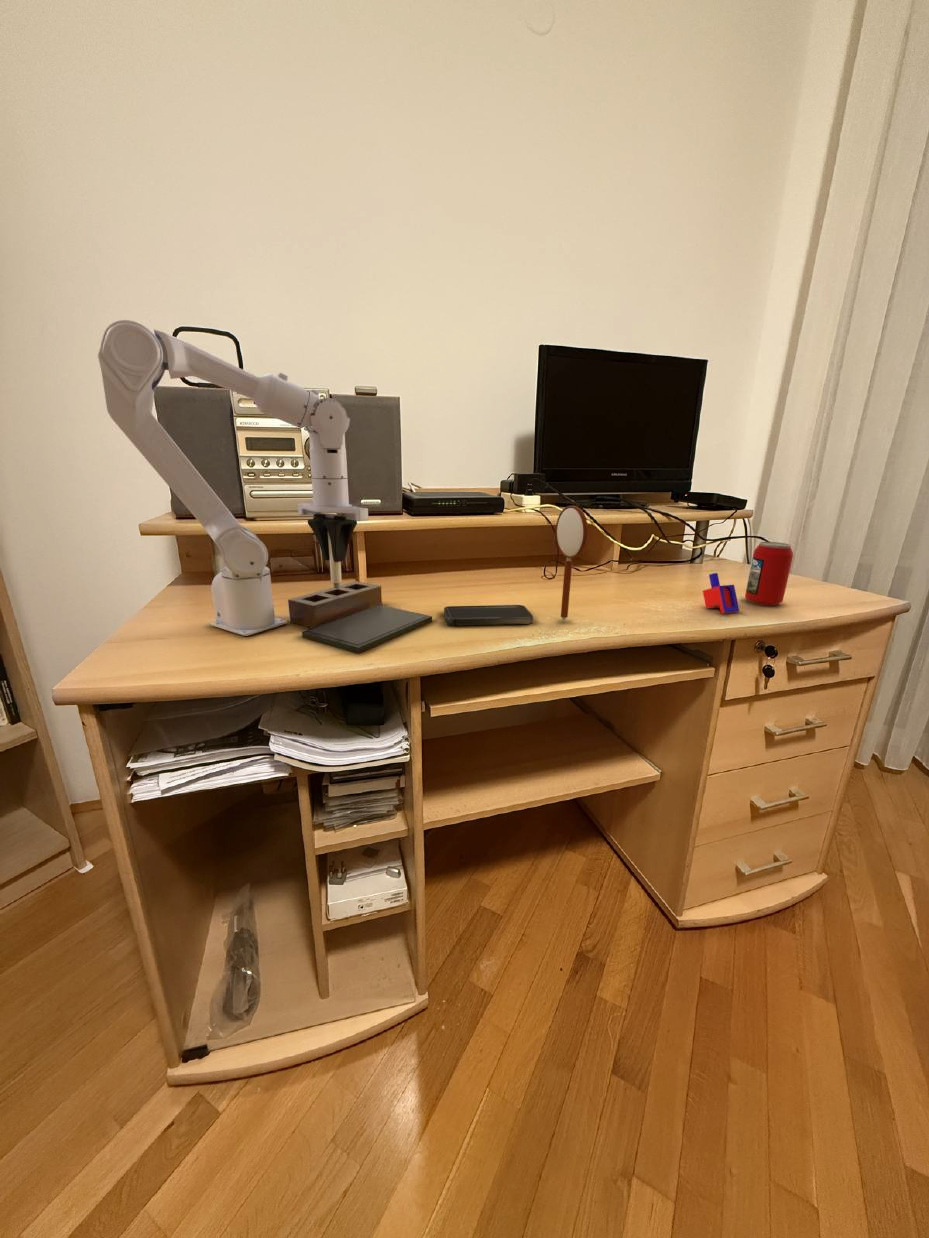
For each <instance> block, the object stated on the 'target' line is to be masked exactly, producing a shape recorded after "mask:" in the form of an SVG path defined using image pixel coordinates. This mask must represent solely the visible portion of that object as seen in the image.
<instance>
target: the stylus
mask: <svg viewBox="0 0 929 1238" xmlns="http://www.w3.org/2000/svg"><path fill="white" fill-rule="evenodd" d="M328 544H329V559H330V560H329V571H330V572H329V573H330V583H332V584H333V587H334V588H340V584H341V583H342V582H343V579H342V566H341V565H342V564H341V562H342V561H340V562H334V560H333V556H332V548H331V541H330V537H329V533H328Z"/></svg>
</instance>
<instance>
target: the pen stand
mask: <svg viewBox="0 0 929 1238" xmlns="http://www.w3.org/2000/svg"><path fill="white" fill-rule="evenodd" d="M382 597H383V596H382V585H378V584H374V583H368V582H364V581H357V580H355V581H352V582H347V583H344V584H341V585H340V588H334V586H332V587H329V588H325V589H322V590H318V591H315V592H311V593H307V594H303V595H300V596H295V597H292V598H289V599H287V604H288V605H287V606H288V614H289V622H290V623H292V624H296V625H300V626H303V627H307V628H310V629H311V628H314V627H317V626H320V625H322V624H325V623H328V622H331V621H334V620H337V619H340V618H343V617H346V616H349V615H352V614H354V613H357V612H360V611H363V610H366V609H369V608H372V607H375V606H378V605H383V598H382Z"/></svg>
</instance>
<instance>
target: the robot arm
mask: <svg viewBox="0 0 929 1238" xmlns="http://www.w3.org/2000/svg"><path fill="white" fill-rule="evenodd" d="M97 359H98V362H99V367H100V371H101V372H100V373H101V377H102V384H103V392H104V397H105V398H104V399H105V405H106V410H107V413H108V415H109V416H110V418H111V420H112V421H113V422H114V423H115V425H117V426H118V428H119V430H121V431H122V433H123V434H124V435H125V436H126V438H127V439H128V440H129V441H130V442H131V443H132V444H133V446H134V447H135V448H136V449H137V450H138V452H139V453H140V454H141V455H142V456H143V457H144V459H145V460H146V461H147V462H148V464H149V465H150V466H151V467H152V468H153V469H154V471H156V473H157V474H158V475H159V477H160V478H161V479H162V480H163V481H164V482H165V483H166V485H167V486H168V487H169V488H170V490H171V491H172V492H173V493H174V494H175V496H177V498H178V499H179V500H180V502H182V504H183V505H184V506H185V507H186V508H187V510H188V511H189V512H190V513H191V514H192V516H193V517H194V518H195V520H197V521H198V523H199V524H200V525H201V527H203V529H204V530H205V531H206V532H207V534H208V535H209V537H210V538H211V539H212V541H213V542H214V543H215V545H216V546H217V547H218V548H219V552H220V554H221V556H222V560H223V563H224V566H223V568H222V569H221V570H220V572H219V573H217V574H216V575H215V576H214V577H213V580H212V582H211V587H210V589H211V590H210V591H211V598H212V603H213V612H214V617H215V621H212V622H211V623H210V625H211V627H215V628H218V629H221V630H225V631H227V632H230V633H234V634H237V635H240V636H244V637H248V636H251V635H255V634H258V633H262V632H264V631H267V630H271V629H273V628H277V627H281V626H283V625H286V624H287V623H288V621H287V620H286V619H283V618H280V617H279V618H278V617H276V615H275V614H276V613H275V606H274V597H273V587H272V578H271V570H270V568H269V567H268V566H267V564H268V562H269V561H268V560H269V551H268V548H267V547H266V545H265V543H264V542H263V541H262V540H261V539H260V538H259V537H258V535H257V534H256V533H255V532H254V531H252V530H250V529H249V528H247V527H244V526H243V525H242V524H241V523H240V522H239V521H238V520H237V518H236V517H235V516H234V515H233V514H232V512H231V511H230V510H229V509H228V507H227V506H226V505H225V504H224V503H223V501H222V500H221V499H220V497H219V496H218V495H217V493H216V492H215V491H214V490H213V488H212V487H211V485H209V484H208V482H207V481H206V480H205V478H204V477H203V476H202V475H201V474H200V472H199V471H198V469H196V467H195V466H194V465H193V464H192V462H191V461H190V459H188V457H187V456H186V455H185V453H184V452H183V451H182V449H180V447H179V446H178V444H176V442H175V441H174V440H173V438H172V437H171V436H170V435H169V434H168V432H167V431H166V430H165V428H164V427H163V426H162V425H161V423H160V422H159V420H158V419H157V418H156V417H155V416H154V415H153V407H154V399H155V393H156V392H155V391H156V389H157V387H158V386H159V384H160V382H161V381H162V379H163V377H164V375H165V372H166V371H168V374H169V378H170V380H173V379H181V378H182V379H183V378H187V377H189V378H190V377H193V378H194V377H195V378H197V379H200V380H203V381H205V382H208V383H210V384H213V385H216V386H217V387H220V388H223V389H226V390H228V391H231V392H234V393H236V394H239V395H241V396H244V397H246V398H249V399H252V401H253V402H254V404H255V406H256V408H257V410H258V411H259V412H260V413H262V414H264V415H267V416H269V417H272V418H275V419H277V420H280V421H282V422H284V423H286V424H289V425H291V426H294V427H296V428H298V429H303V428H305V430H306V432H307V433H308V437H309V459H310V460H309V461H310V473H311V474H310V476H311V489H312V501H313V502H302V503H297V511H298V513H297V515H299V516H313V517H312V518H310V519H307V526H309V527H310V529H311V530H312V532H313V534H314V535H315V538H316V540H317V542H318V545H319V548H320V551H321V553H322V556H323V559H324V561H330V559H329V544H328V533H329V537H330V541H331V548H332V556H333V560H334V562H345V561H346V558H347V554H348V548H349V544H350V541H351V537H352V534H353V532H354V531H355V528H356V527H357V525H358V522H364V521H369V508H367V507H359V506H355V505H353V504H351V503H349V502H350V499H349V497H350V496H349V481H348V480H349V479H348V460H347V459H348V458H347V449H346V435H345V434H346V432H347V431H348V429H349V427H350V422H351V421H350V420H351V419H350V418H349V417H348V413H347V411H346V409H345V407H344V406H343V405H342V403H340V402H339V401H338V400H336V399H334V398H332V397H331V398H330V397H321V398H320V396H319V395H320V392H319V390H316V389H314V388H313V389H311V390H310V389H309V390H308V389H307V388H304V387H302V386H300V385H298V384H296V383H294V382H291V381H289V380H288V379H289V376H288V375H287V374H285V373H283V372H279V373H278V374H277V375H276V374H274V373H273V372H269V373H266V374H264V375H262V376H257V375H254V374H252V373H251V372H249V371H246V370H245V369H243V368H240V367H238V366H236V365H234V364H232V363H230V362H228V361H226V360H224V359H223V358H220V357H219V356H216V355H214V354H211V352H208V351H206V350H203V349H202V348H200V347H198V346H196V345H194V344H191V343H189V342H187V341H185V340H183V339H181V338H178V337H176V336H173V335H171V334H169V333H167V332H164V331H161V330H157V329H153V331H151V330H150V329H149V328H148V327H147V326H145V325H143V324H142V323H139V322H137V321H135V320H129V319H120V320H116V321H114V322H112V323H110V324H109V325H108V326H107V327H106V328H105V329H104V331H103V334H102V337H101V340H100V345H99V349H98V352H97Z"/></svg>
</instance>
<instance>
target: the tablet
mask: <svg viewBox="0 0 929 1238" xmlns="http://www.w3.org/2000/svg"><path fill="white" fill-rule="evenodd" d="M432 622H433V616H432V615H429V614H424V613H418V612H415V611H409V610H405V609H401V608H396V607H393V606H387V605H383V604H382V605H378V606H375V607H372V608H369V609H366V610H363V611H360V612H357V613H354V614H352V615H349V616H346V617H343V618H340V619H337V620H334V621H331V622H328V623H325V624H322V625H320V626H317V627H314V628H311V627H310V628H308V629H305V630H302V631H301V638H303V639H306V640H310V641H313V642H317V643H320V644H324V645H326V646H327V645H328V646H330V647H334V648H337V649H340V650H343V651H347V652H351V653H354V654H358V655H360V654H362V653H364V652H366V651H369V650H371V649H374V648H376V647H378V646H380V645H383V644H385V643H386V642H387V643H388V642H389V641H391V640H394V639H397V638H398V637H401V636H403V635H405V634H407V633H410V632H412V631H414V630H417V629H418V628H421V627H423V626H426V625H428V624H430V623H432Z"/></svg>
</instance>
